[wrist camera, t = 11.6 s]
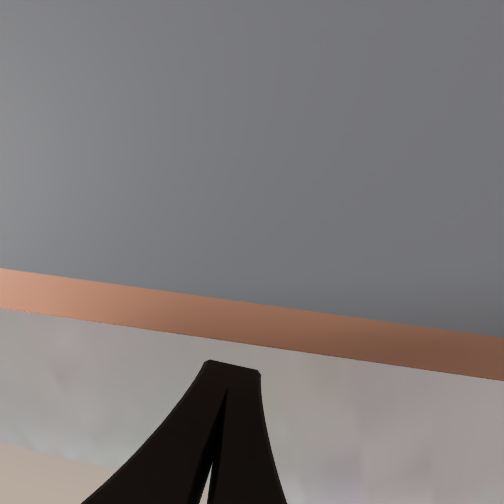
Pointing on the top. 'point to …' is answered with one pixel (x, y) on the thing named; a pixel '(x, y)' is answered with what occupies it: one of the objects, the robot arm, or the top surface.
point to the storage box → (261, 152)
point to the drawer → (255, 324)
